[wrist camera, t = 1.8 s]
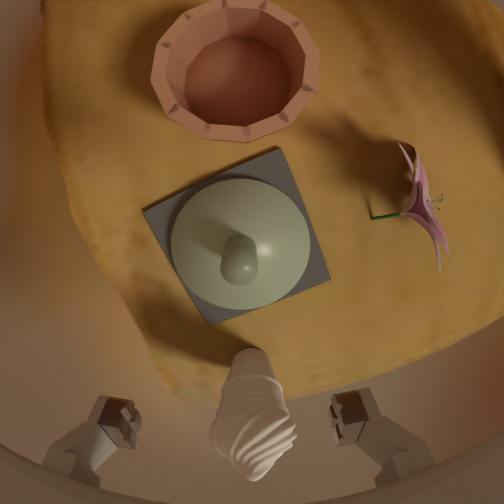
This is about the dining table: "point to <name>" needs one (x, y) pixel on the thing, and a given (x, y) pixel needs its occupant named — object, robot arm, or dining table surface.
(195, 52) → the bowl
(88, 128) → the dining table surface
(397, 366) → the dining table surface
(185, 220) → the lid
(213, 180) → the mat
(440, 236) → the lily
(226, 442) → the soft serve ice cream cone
